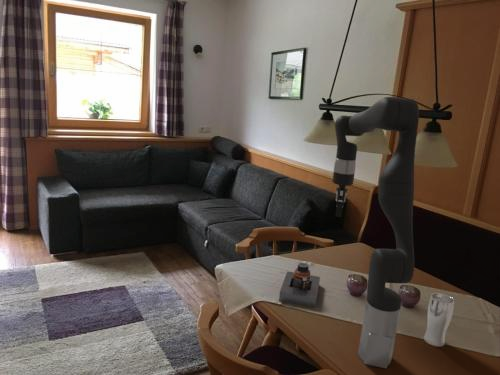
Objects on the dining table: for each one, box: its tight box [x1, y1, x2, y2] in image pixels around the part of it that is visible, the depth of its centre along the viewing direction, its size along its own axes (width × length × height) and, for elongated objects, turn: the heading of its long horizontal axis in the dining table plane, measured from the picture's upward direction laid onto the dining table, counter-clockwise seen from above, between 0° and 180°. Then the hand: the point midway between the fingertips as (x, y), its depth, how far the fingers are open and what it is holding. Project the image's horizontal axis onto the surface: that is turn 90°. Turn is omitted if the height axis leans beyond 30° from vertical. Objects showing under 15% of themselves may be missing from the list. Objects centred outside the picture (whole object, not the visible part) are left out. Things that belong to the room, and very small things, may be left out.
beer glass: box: [423, 292, 455, 348], centre depth 127 cm, size 7×7×15 cm
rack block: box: [278, 270, 321, 308], centre depth 153 cm, size 18×13×4 cm
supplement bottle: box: [292, 262, 311, 290], centre depth 152 cm, size 6×6×11 cm
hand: (338, 213), depth 153 cm, fingers open, 8 cm apart
